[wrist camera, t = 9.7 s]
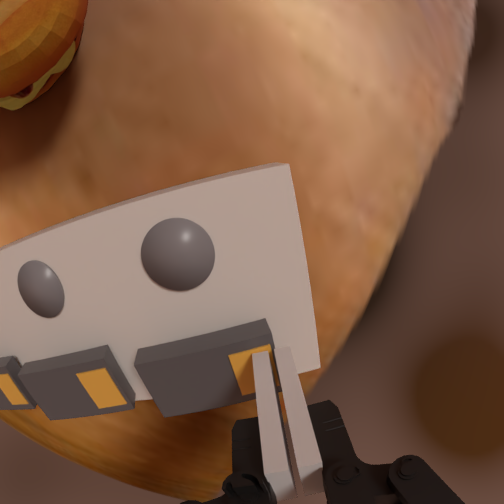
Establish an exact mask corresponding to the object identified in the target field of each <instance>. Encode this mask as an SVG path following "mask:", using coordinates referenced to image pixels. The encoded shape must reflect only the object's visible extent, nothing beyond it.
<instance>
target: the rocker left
mask: <svg viewBox="0 0 504 504" xmlns="http://www.w3.org/2000/svg"><path fill="white" fill-rule="evenodd" d="M20 370H21V368H20V366H19V365H18V363H17V361H16V360H15V358H14V356H13V355H12V356H7V357H1V358H0V410H16V409H35V408H36V405H37V403H36V401H35V400H34V399H33V397H32V396H31V394H30V393H29V392H28V390H27V389H26V387H25V386H24V384H23V383H22V381H21V380H20V379H19V377H18V373H19V372H20Z"/></svg>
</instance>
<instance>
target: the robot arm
mask: <svg viewBox="0 0 504 504" xmlns="http://www.w3.org/2000/svg"><path fill="white" fill-rule="evenodd" d="M274 353H275V358H276V363H277V367H278V372H279V377H280V382H281V387H282V392H283V397H284V402H285V407H286V412H287V417H288V422H289V426H290V431H291V436H292V441H293V446H294V451H295V456H296V461H297V466H298V470H299V474H300V478H301V482H302V486H303V490H304V493H305V496H307V495H312V494H316V493H320V492H324V491H325V494H326V498H327V504H465V503H464V502H463V501H462V500H461V499H460V498H459V497H458V496H457V495H456V494H455V493H454V492H453V491H452V490H451V489H450V488H449V487H448V486H447V485H446V484H445V482H444V481H443V480H442V479H441V478H440V477H439V476H438V475H437V474H436V473H435V472H434V471H433V470H432V469H431V468H430V467H429V465H428V464H427V463H426V462H425V461H424V460H423V459H421V458H420V457H418V456H414V455H406V456H402V457H400V458H398V459H397V460H396V461H394V462H393V463H392V464H380V465H370V464H366V463H364V462H362V461H361V460H360V459H359V458H358V457H357V456H356V454H355V452H354V449H353V446H352V444H351V441H350V438H349V436H348V433H347V430H346V428H345V425H344V423H343V420H342V418H341V415H340V412H339V409H338V407H337V406H335V404H333V403H332V402H331V401H330V400H327V401H323V402H320V403H316V404H312V405H308V406H307V405H306V402H305V398H304V395H303V391H302V387H301V384H300V380H299V377H298V373H297V370H296V366H295V363H294V359H293V356H292V352H291V349H290V346H285V347H281V348H277V349H274ZM252 360H253V370H254V380H255V390H256V400H257V410H258V417H254V418H248V419H242V420H236V423H235V425H234V427H233V429H232V470H233V473H232V474H231V475H229V476H228V477H227V478H226V479H225V481H224V482H223V485H222V490H223V491H224V492H225V494H224V495H223V496H221V497H218V498H216V499H213V500H210V501H207V502H204V503H201V502H199V501H196V500H188V501H185V502H182V503H180V504H277V501H281V500H287V499H293V498H297V493H296V487H295V481H294V476H293V471H292V465H291V460H290V455H289V449H288V444H287V438H286V433H285V428H284V422H283V417H282V411H281V406H280V401H279V395H278V390H277V386H276V382H275V378H274V374H273V370H272V366H271V362H270V358H269V353H268V351H263V352H258V353H253V354H252Z"/></svg>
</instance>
